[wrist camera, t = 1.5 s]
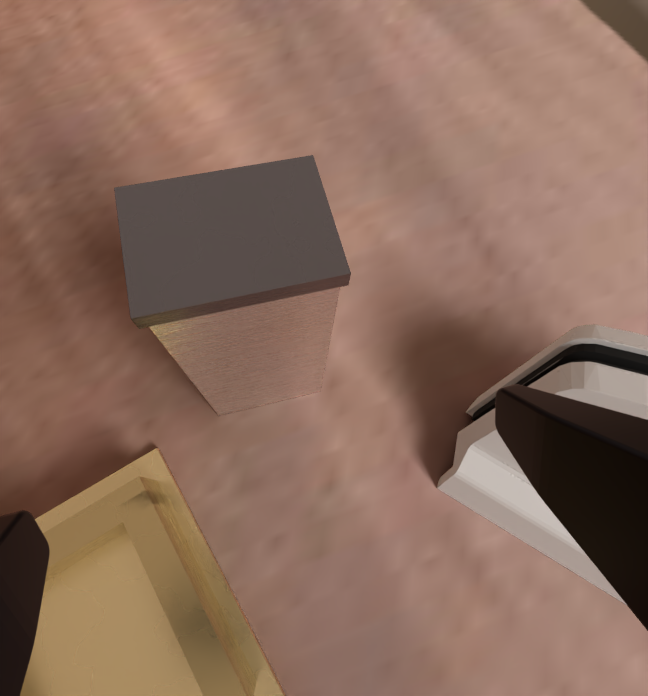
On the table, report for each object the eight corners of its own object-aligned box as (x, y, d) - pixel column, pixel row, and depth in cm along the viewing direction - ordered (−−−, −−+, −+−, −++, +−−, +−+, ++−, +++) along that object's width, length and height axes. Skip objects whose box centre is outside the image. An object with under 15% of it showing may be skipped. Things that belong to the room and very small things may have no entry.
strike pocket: (296, 715, 17) (295, 751, 15) (22, 934, 15) (-37, 1023, 12) (159, 449, 20) (138, 439, 18) (-84, 591, 18) (-150, 605, 15)
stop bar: (324, 393, 22) (350, 273, 11) (216, 419, 21) (130, 318, 10) (305, 324, 23) (313, 154, 12) (203, 346, 22) (114, 188, 12)
